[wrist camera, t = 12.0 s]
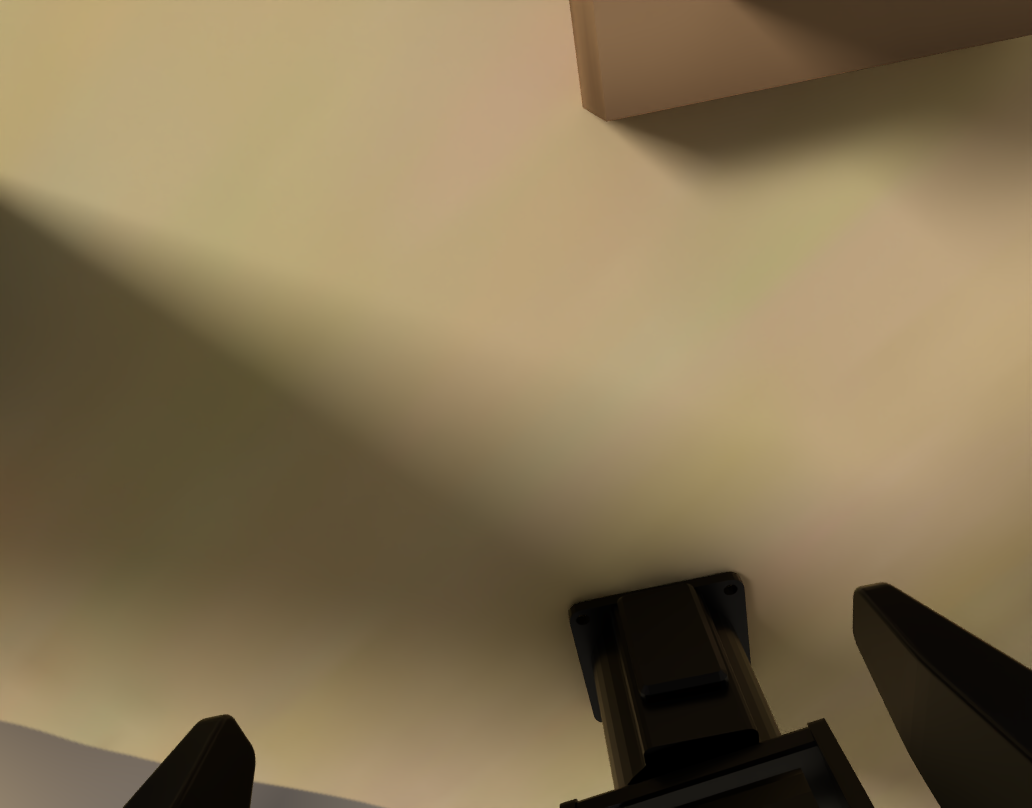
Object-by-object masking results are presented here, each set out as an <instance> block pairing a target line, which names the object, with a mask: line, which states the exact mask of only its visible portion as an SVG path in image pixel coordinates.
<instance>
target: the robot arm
mask: <svg viewBox="0 0 1032 808" xmlns="http://www.w3.org/2000/svg"><path fill="white" fill-rule="evenodd" d="M728 585H731V586H730V587H726V586H728ZM568 615H569V622H570V626H571V630H572V634H573V637H574V641H575V645H576V649H577V653H578V656H579V660H580V664H581V668H582V672H583V675H584V679H585V683H586V687H587V691H588V694H589V698H590V702H591V706H592V710H593V714H594V717H595V719H596V720H597V721H599V722H602V723H603V729H604V734H605V739H606V745H607V750H608V756H609V761H610V767H611V772H612V777H613V783H614V788H615V789H614V790H611V791H608V792H605V793H602V794H599V795H596V796H593V797H590V798H587V799H584V800H580V801H578V800H577V799H573V800H570V801H567V802H564V803H561V804H560V808H874V806H873V804H872V802H871V801H870V799H869V797H868V795H867V794H866V792H865V790H864V788H863V786H862V785H861V783H860V781H859V779H858V777H857V776H856V774H855V772H854V770H853V769H852V767H851V765H850V763H849V761H848V760H847V758H846V756H845V754H844V753H843V751H842V749H841V747H840V745H839V744H838V742H837V740H836V738H835V737H834V735H833V733H832V731H831V729H830V728H829V726H828V724H827V722H826V720H825V719H824V718H823V719H819V720H816V721H813V722H810V723H807V725H808V727H806V728H803V729H799V730H796V731H793V732H790V733H787V734H784V735H781V733H780V731H779V729H778V726H777V724H776V722H775V719H774V717H773V715H772V713H771V710H770V708H769V706H768V704H767V701H766V699H765V697H764V694H763V692H762V690H761V688H760V685H759V683H758V681H757V679H756V676H755V674H754V672H753V669H752V667H751V661H750V650H749V638H748V626H747V614H746V602H745V591H744V585H743V583H742V581H741V579H740V577H739V575H737V574H736V573H733V572H725V573H720V574H715V575H710V576H706V577H701V578H696V579H691V580H686V581H681V582H676V583H671V584H667V585H662V586H657V587H652V588H647V589H642V590H637V591H632V592H627V593H623V594H618V595H613V596H608V597H603V598H598V599H593V600H588V601H584V602H579V603H576V604H574V605H573V606H571V607H570V609H569V611H568ZM581 615H586V616H583V617H578V616H581ZM853 634H854V638H855V641H856V644H857V646H858V649H859V651H860V653H861V655H862V657H863V659H864V661H865V663H866V665H867V668H868V670H869V672H870V674H871V676H872V678H873V680H874V682H875V684H876V686H877V689H878V691H879V693H880V695H881V697H882V699H883V701H884V703H885V705H886V708H887V710H888V712H889V714H890V716H891V718H892V720H893V722H894V724H895V726H896V729H897V731H898V733H899V735H900V737H901V739H902V741H903V743H904V745H905V747H906V749H907V751H908V753H909V755H910V757H911V758H912V760H913V762H914V764H915V765H916V767H917V769H918V770H919V772H920V774H921V776H922V777H923V779H924V780H925V782H926V784H927V785H928V787H929V789H930V790H931V792H932V794H933V795H934V797H935V799H936V800H937V802H938V804H939V805H940V807H941V808H1032V670H1031V669H1029V668H1028V667H1026V666H1024V665H1023V664H1021V663H1019V662H1018V661H1016V660H1015V659H1013V658H1011V657H1010V656H1008V655H1006V654H1005V653H1003V652H1001V651H1000V650H998V649H996V648H995V647H993V646H991V645H990V644H988V643H986V642H985V641H983V640H982V639H980V638H978V637H977V636H975V635H973V634H972V633H970V632H968V631H967V630H965V629H963V628H962V627H960V626H958V625H957V624H955V623H953V622H952V621H950V620H949V619H947V618H945V617H944V616H942V615H940V614H939V613H937V612H935V611H934V610H932V609H930V608H929V607H927V606H925V605H924V604H922V603H921V602H919V601H917V600H916V599H914V598H912V597H911V596H909V595H907V594H906V593H904V592H902V591H901V590H899V589H897V588H896V587H894V586H892V585H891V584H888V583H884V582H881V583H875V584H870V585H865V586H860V587H858V588H856V589H855V591H854V595H853ZM254 772H255V752H254V749H253V747H252V745H251V743H250V742H249V740H248V739H247V737H246V736H245V734H244V733H243V731H242V730H241V728H240V727H239V725H238V724H237V722H236V721H235V719H234V718H233V717H232V716H230V715H228V714H224V715H219V716H214V717H209V718H205V719H202V720H201V721H199V722H198V723H197V724H196V725H195V726H194V727H193V728H192V729H191V730H190V731H189V733H188V734H187V735H186V736H185V737H184V738H183V739H182V741H181V742H180V743H179V744H178V745H177V746H176V747H175V749H174V750H173V751H172V752H171V753H170V754H169V755H168V756H167V758H166V759H165V760H164V761H163V762H162V763H161V764H160V766H159V767H158V768H157V769H156V770H155V771H154V772H153V774H152V775H151V776H150V777H149V778H148V779H147V780H146V782H145V783H144V784H143V785H142V786H141V787H140V788H139V790H138V791H137V792H136V793H135V794H134V795H133V796H132V798H131V799H130V800H129V801H128V802H127V803H126V804H125V805H124V807H123V808H250V804H251V796H252V788H253V780H254Z"/></svg>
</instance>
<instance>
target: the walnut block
mask: <svg viewBox="0 0 1032 808" xmlns="http://www.w3.org/2000/svg"><path fill="white" fill-rule="evenodd" d="M569 2H570V10H571V18H572V26H573V34H574V42H575V50H576V58H577V65H578V73H579V81H580V89H581V97H582V105H583V108H585V109H587V110H588V111H590V112H592V113H593V114H595V115H596V116H598V117H600V118H601V119H603V120H605V121H606V122H607V121H612V120H617V119H622V118H627V117H632V116H636V115H641V114H646V113H651V112H656V111H661V110H666V109H671V108H675V107H680V106H685V105H690V104H695V103H700V102H705V101H710V100H715V99H719V98H724V97H729V96H734V95H739V94H744V93H749V92H754V91H759V90H763V89H768V88H773V87H778V86H783V85H788V84H793V83H798V82H803V81H807V80H812V79H817V78H822V77H827V76H832V75H837V74H842V73H846V72H851V71H856V70H861V69H866V68H871V67H876V66H881V65H886V64H890V63H895V62H900V61H905V60H910V59H915V58H920V57H925V56H930V55H934V54H939V53H944V52H949V51H954V50H959V49H964V48H969V47H974V46H978V45H983V44H988V43H993V42H998V41H1003V40H1008V39H1013V38H1018V37H1022V36H1027V35H1032V0H569Z"/></svg>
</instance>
